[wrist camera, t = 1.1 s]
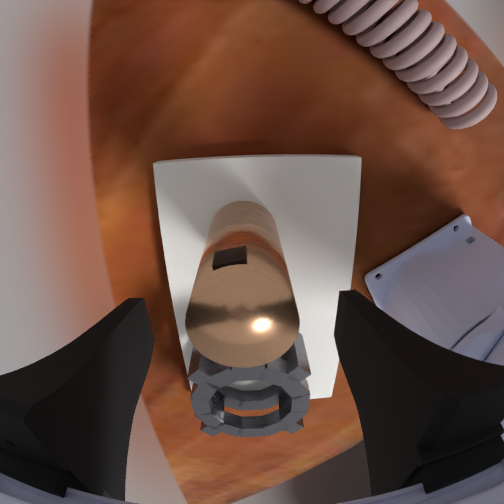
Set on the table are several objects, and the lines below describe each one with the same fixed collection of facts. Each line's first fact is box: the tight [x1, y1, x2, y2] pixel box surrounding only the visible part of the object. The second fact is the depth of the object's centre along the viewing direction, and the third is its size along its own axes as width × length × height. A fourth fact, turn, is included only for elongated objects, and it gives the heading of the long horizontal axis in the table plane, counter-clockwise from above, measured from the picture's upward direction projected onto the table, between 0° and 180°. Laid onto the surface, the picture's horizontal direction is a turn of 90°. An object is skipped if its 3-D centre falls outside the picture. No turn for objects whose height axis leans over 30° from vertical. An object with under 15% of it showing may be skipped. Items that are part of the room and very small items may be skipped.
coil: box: [299, 0, 497, 129], centre depth 13 cm, size 5×5×18 cm
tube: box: [185, 201, 300, 368], centre depth 15 cm, size 4×4×9 cm
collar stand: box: [187, 332, 311, 437], centre depth 22 cm, size 8×8×4 cm
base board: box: [153, 154, 362, 399], centre depth 22 cm, size 20×12×1 cm, turn 2°
